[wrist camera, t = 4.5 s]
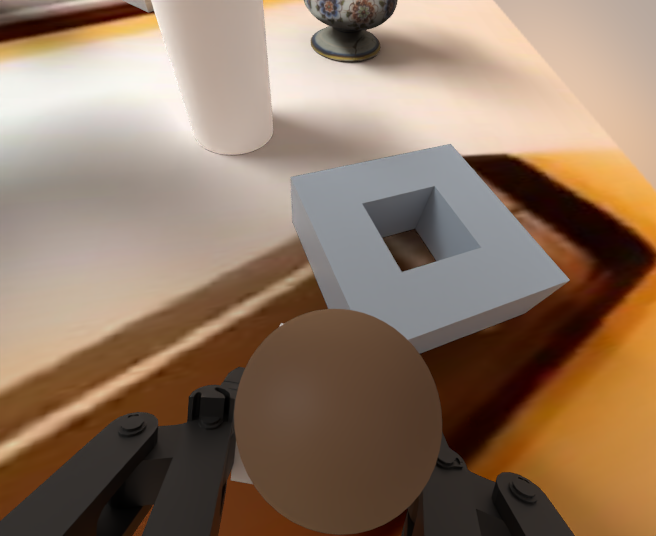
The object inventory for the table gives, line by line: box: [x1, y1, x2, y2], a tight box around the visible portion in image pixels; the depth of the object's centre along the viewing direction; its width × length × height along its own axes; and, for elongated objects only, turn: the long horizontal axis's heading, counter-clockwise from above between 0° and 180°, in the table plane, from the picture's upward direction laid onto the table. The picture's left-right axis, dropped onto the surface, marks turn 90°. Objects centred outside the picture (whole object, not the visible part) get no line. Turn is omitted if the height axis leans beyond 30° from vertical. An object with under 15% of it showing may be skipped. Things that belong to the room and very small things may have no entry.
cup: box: [151, 0, 273, 155], centre depth 28 cm, size 8×8×16 cm
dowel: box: [234, 309, 442, 535], centre depth 13 cm, size 4×4×15 cm
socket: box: [291, 144, 570, 354], centre depth 24 cm, size 14×14×5 cm
